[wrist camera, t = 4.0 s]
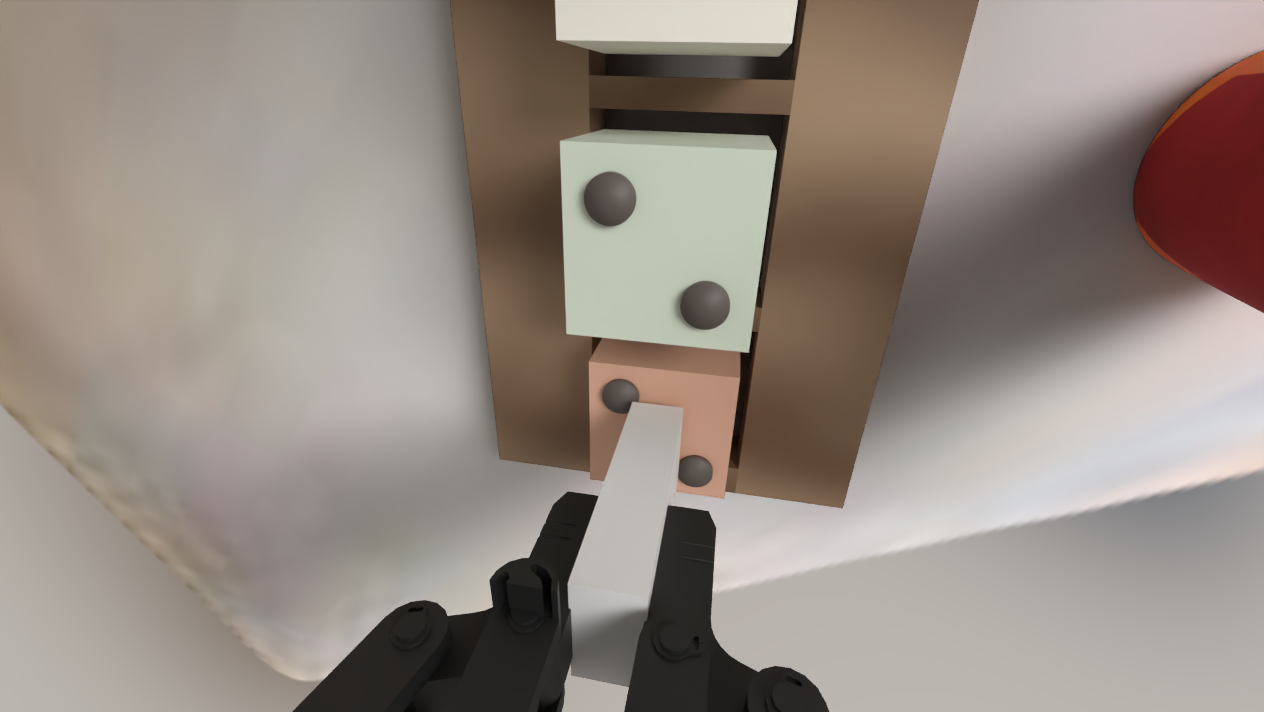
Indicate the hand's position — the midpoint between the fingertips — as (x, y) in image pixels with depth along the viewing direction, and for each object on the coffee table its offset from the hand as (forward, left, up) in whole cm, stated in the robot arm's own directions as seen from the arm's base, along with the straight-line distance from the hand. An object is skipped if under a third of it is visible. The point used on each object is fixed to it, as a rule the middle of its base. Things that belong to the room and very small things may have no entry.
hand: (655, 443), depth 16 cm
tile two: (-6, 0, -2) cm, 7 cm away
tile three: (0, 0, -4) cm, 4 cm away
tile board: (-6, 0, -5) cm, 8 cm away
